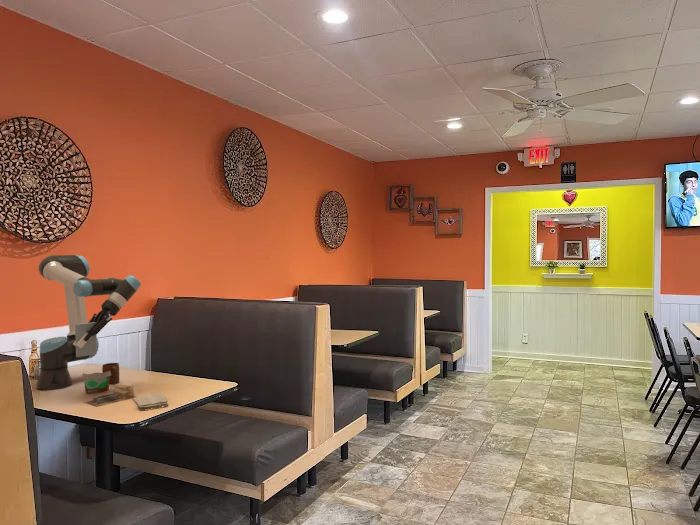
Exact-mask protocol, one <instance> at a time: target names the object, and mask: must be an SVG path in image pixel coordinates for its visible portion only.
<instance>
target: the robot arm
mask: <svg viewBox="0 0 700 525" xmlns="http://www.w3.org/2000/svg"><path fill="white" fill-rule="evenodd" d="M38 272H39V274H40V276H41V277H43V278H44V279H46V280H48V281H55V282H57V283H59V284H62V285H63V288H64V295H65V303H66V304H65V305H66V313H67V321H68V329H69V330H68V331H69V332H68V334H66V336H55V337H50V338H46V339H44V340H42V341H41V342H40V344H39V351H38V352H39V367H40V369H39V370H40V372H39V375H38V378H37V382H36V389H37V388H38V389H37V390H39V389H43V390H42V391H48V390H57V389H58V390H59V389H65V388H68V387H70V386H72V385H73V379H72V378H71V374H70V371H69V367H68V366H69V365H68V363H72V362H78V361H83V360H84V361H85V360H88V359H92V358H94V357H95V356H96V355H97V354H94V355H88V356H82V357H76V345H77V346H78V347H79V348H82V347H83V346H84V345H85V344H86V342H87V341H88V340H89V339H90V338H91V337H92V336H94V335H96V342H97V352H99V346H100V344H99V343H100V342H99V339H98V337H97V334H99V333H100V332H101V330H103V329H104V327H105V326H107V324H108V323H110V322H111V321H112V320H113V318H112V316H114V317H115V316H116V315H117V314H118V313H119V312H120V311H121V309H122V308H123V307H125V306H126V304H127V302H128V301H129V300H130V299H131V298H132V297H133V296H134V295H135V293H137V291H138V290H139V288H140V287H141V285H142V284H141V283H142V282H141V281H140V280H139V279H138V278H137V277H136V276H134V275H131V274H130V275H129V274H128V275H127V276H126V277H125V278H123V279H122V278H120V279H119V278H116V277H107V278H98V279H91V278H89V277H88V276H89V274H90V264H89V262H88V260H87V259H86V258H85V257H84V256H83V255H78V254H69V255H68V254H62V255H58V254H53V255H47V256H46V257H44V258H43V259H42V260H41V261H40V262H39V264H38ZM106 295H107V296H108V295H109V296H108V297H107V299H105V300H104V302H102V304H101V306H100V307H101V309H102V310H100V311H99V312H98V313H97V314H96V313H93V315H92V317H91V318H90V320H89V321H88V315H87V305H86V299H85V297H86V298H87V297H95V296H106ZM92 322H96V323H95V324H94V325H93V327H92V328H91V329H90V330H89V331H87V332H88V333H86V334H85V335H84V336H83V337H82V338H81V339H80V340H79V341H78V343H77V344H76V334H75V324H82V323H92ZM67 386H68V387H67Z"/></svg>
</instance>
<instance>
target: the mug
mask: <svg viewBox="0 0 700 525" xmlns="http://www.w3.org/2000/svg"><path fill="white" fill-rule="evenodd" d="M101 369H102V370H101V371H102V372H101V373H105V372H108V371H110V372H111V375H110V380H109V386H110V384H111V385H117V384H118V383H120V364H119V362H108V363H103V364H102V368H101Z"/></svg>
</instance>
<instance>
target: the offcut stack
mask: <svg viewBox="0 0 700 525" xmlns="http://www.w3.org/2000/svg"><path fill="white" fill-rule="evenodd" d="M113 393H115V395H116V394H119V398H121V399H126V398H131V397H134V396H135V391H134V385H132V384H126V383H120V384H115V385H114V389H113Z"/></svg>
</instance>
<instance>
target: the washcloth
mask: <svg viewBox="0 0 700 525" xmlns="http://www.w3.org/2000/svg"><path fill="white" fill-rule="evenodd" d="M132 400H133V402H134V403H135V404H136V405H137V407H138V408H139V409H138V408H137V409H138V410H142V411H146V410H145V409H151V408H156V409H158V408H157V407H162V406H167V405H168V406H169V404H168V402H169V400H168V398H167V396H164V395H163V394H162V392H161V393H153V394H148V395H140V396H136V397H135V398H132ZM168 406H167V407H168ZM151 410H152V409H151Z"/></svg>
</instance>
